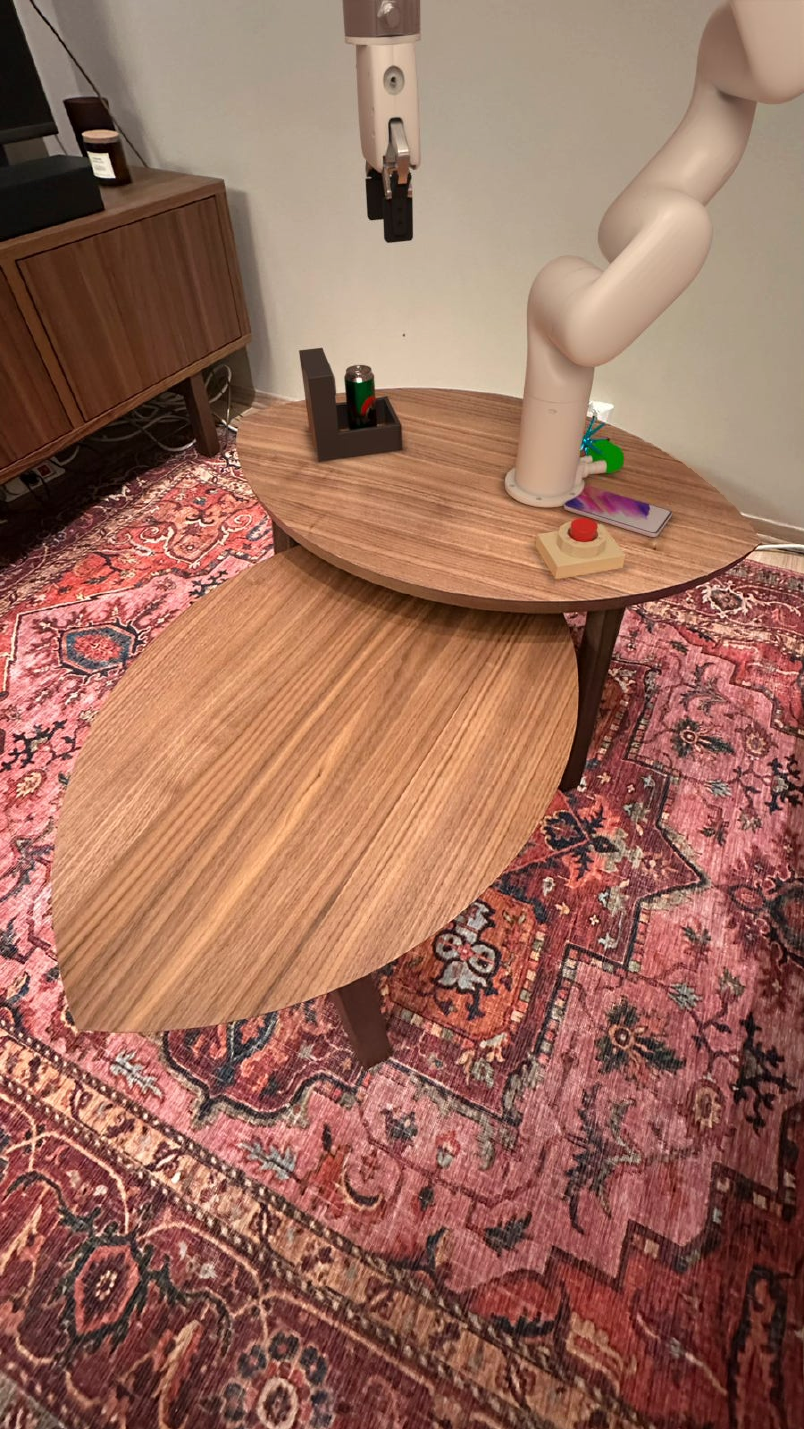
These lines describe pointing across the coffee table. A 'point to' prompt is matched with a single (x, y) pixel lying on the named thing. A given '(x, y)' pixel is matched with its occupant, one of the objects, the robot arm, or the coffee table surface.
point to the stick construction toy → (602, 449)
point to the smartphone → (619, 511)
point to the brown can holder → (342, 416)
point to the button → (583, 530)
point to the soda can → (360, 397)
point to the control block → (579, 552)
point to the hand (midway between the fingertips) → (389, 229)
